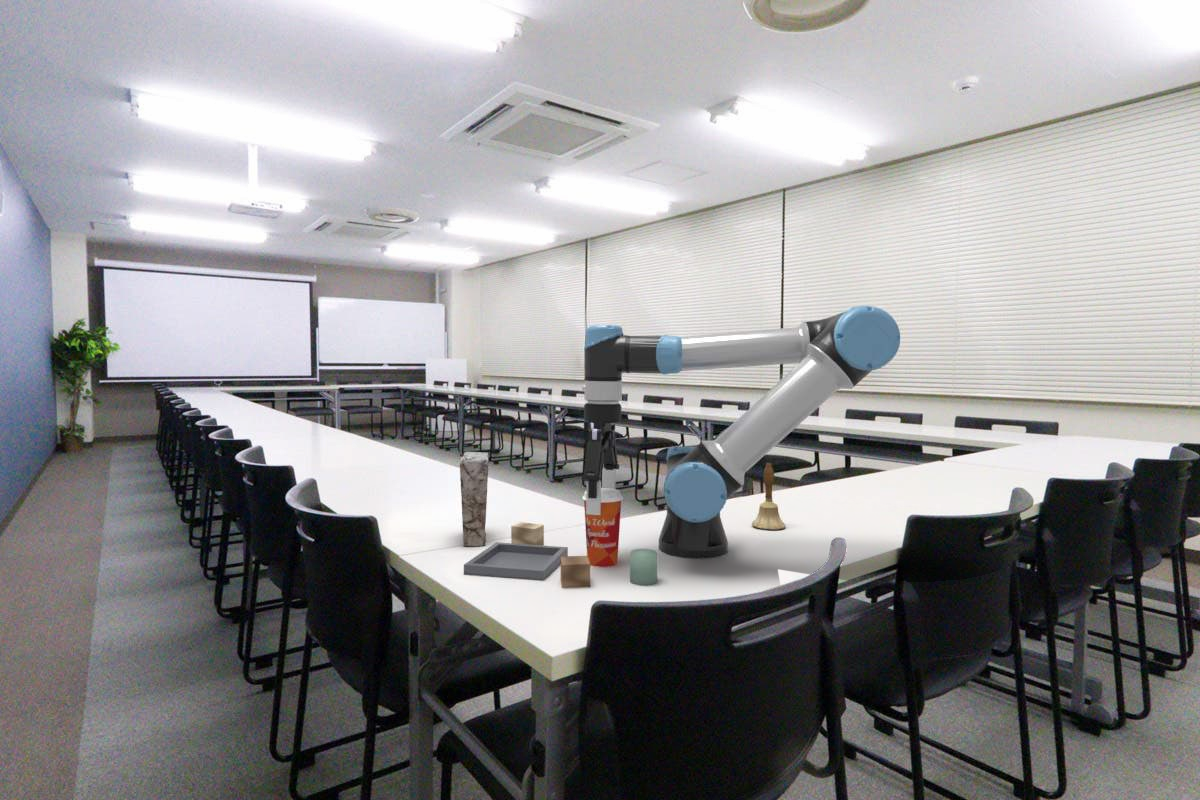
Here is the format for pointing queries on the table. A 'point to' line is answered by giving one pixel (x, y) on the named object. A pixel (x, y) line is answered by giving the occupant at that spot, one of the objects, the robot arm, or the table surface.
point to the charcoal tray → (516, 561)
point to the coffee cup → (604, 529)
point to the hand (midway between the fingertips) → (601, 507)
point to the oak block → (527, 534)
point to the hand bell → (768, 505)
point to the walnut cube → (575, 571)
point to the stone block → (474, 497)
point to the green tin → (643, 567)
